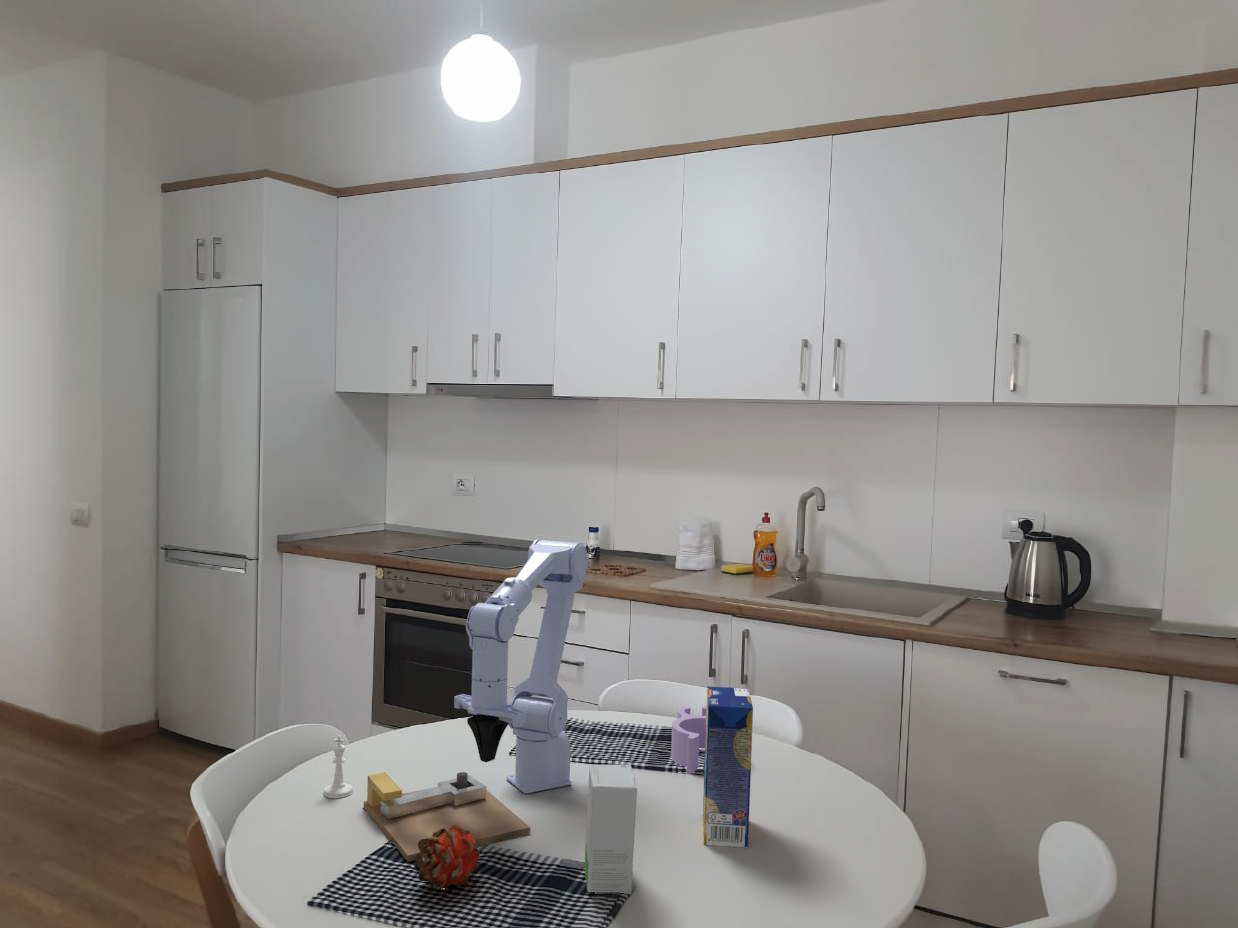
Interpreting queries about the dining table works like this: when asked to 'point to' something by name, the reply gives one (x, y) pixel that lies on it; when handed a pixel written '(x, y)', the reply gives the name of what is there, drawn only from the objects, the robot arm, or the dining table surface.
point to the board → (450, 822)
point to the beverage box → (727, 766)
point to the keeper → (381, 789)
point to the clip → (688, 738)
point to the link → (434, 798)
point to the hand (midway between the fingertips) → (487, 759)
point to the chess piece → (338, 775)
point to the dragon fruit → (447, 857)
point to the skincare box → (610, 828)
